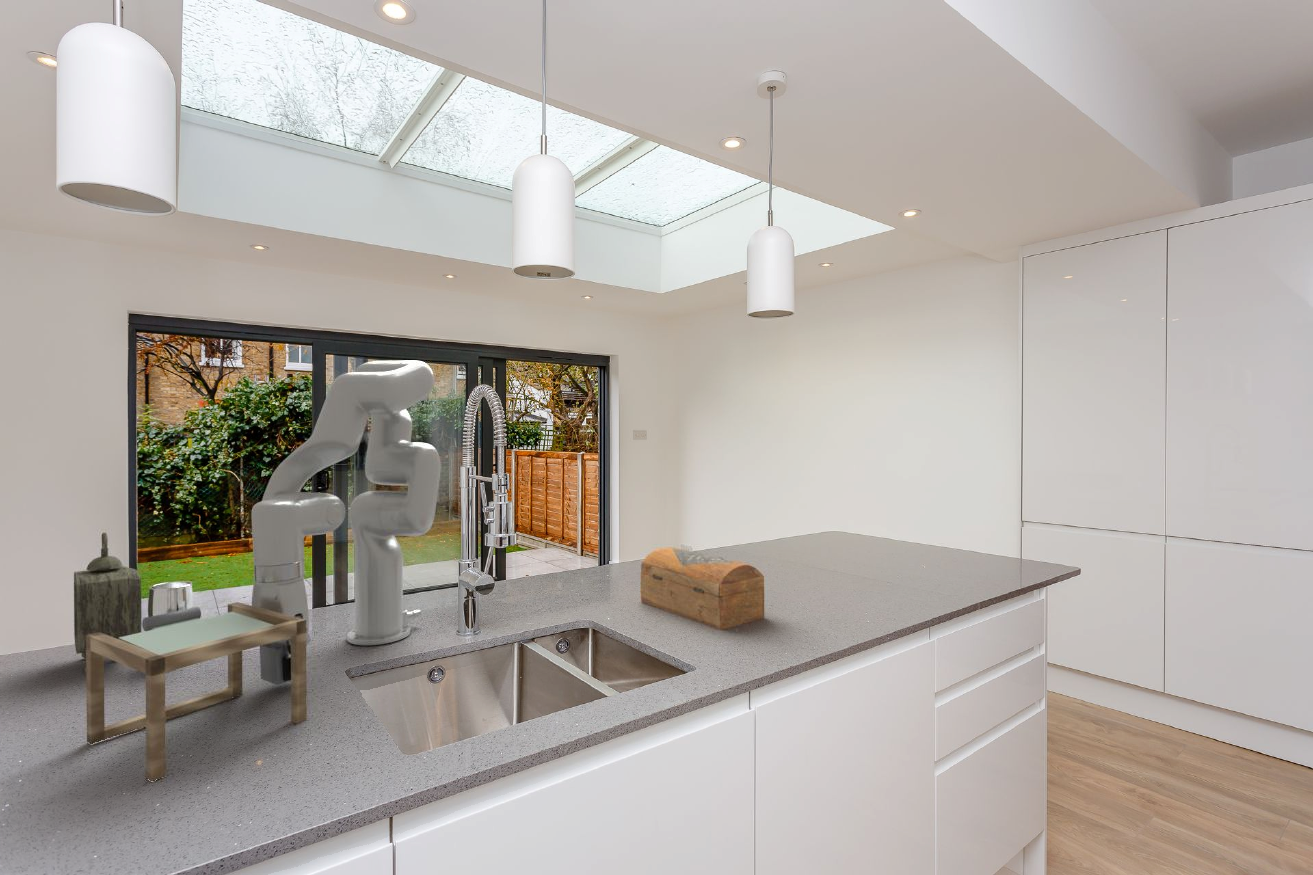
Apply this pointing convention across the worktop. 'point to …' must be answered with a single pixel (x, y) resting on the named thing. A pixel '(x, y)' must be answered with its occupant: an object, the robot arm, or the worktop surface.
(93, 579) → the tabletop clock
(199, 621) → the trapdoor
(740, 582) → the wooden box
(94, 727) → the frame
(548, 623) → the worktop surface
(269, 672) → the stone
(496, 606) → the worktop surface
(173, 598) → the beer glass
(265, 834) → the worktop surface
